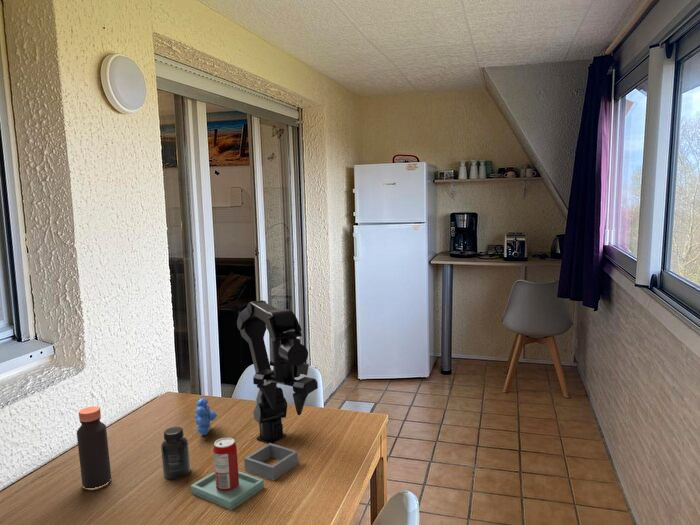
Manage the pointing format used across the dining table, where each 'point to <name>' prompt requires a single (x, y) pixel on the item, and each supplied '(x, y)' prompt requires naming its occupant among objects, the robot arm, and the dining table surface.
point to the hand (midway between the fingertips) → (286, 411)
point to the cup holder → (268, 471)
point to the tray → (227, 499)
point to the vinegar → (93, 448)
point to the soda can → (226, 464)
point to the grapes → (204, 416)
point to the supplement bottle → (175, 454)
